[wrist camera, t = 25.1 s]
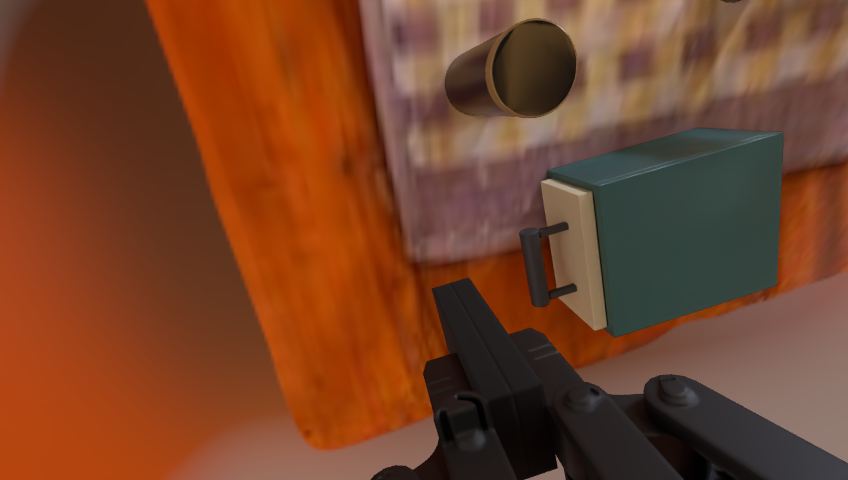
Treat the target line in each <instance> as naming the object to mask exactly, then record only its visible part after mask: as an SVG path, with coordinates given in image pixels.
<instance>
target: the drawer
mask: <svg viewBox="0 0 848 480" xmlns="http://www.w3.org/2000/svg"><path fill="white" fill-rule="evenodd" d="M541 189H542V195H543V202H544V208H545V215H546V221H547V227H545V228H541V229H537V228H527V229H523V230H521V231H520V233H519V235H520V240H521V246H522V252H523V257H524V263H525V268H526V274H527V280H528V285H529V291H530V296H531V302H532V305H533V306H535V307H544V306H547V305H548V304H549V303H550V299H554V298H557V297H558V298H559V299H560V300H561V301H562V302H564V303H565V304H566V305H567V306H568V307H569V308H570V309H571V310H572V311H573V312H575V313H576V314H577V315H578V316H579V317H580V318H581V319H582V320H583V321H584V322H586V323H587V324H588V325H589V326H590V327H591V328H592V329H593V330H594V331H596V330H599V329H602V328H605V327H607V321H606V312H605V304H606V299H605V290H604V281H603V272H602V263H601V254H600V245H599V236H598V227H597V217H596V208H595V199H594V194H593V193H592V191H589V190H586V189H583V188H580V187H577V186H574V185H571V184H568V183H565V182H562V181H559V180H556V179H553V178H551V179H547V180H544V181H541ZM548 235H549V241H550V247H551V254H552V260H553V267H554V274H555V280H556V287H557V288H556V289H553V290H549V291H548V285H547V279H546V273H545V267H544V261H543V254H542V248H541V242H540V238H542V237H545V236H548Z"/></svg>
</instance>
